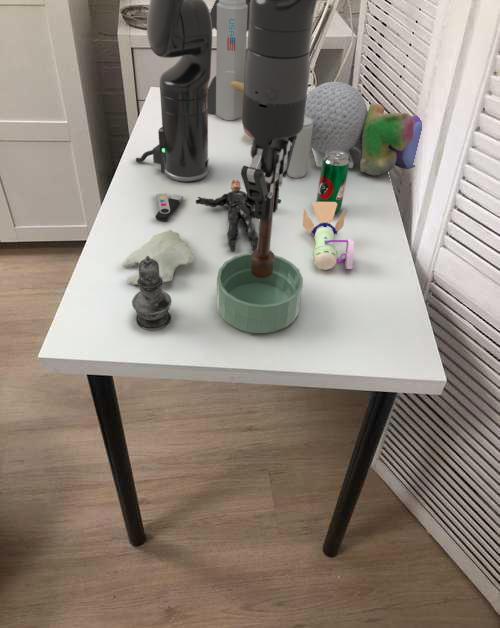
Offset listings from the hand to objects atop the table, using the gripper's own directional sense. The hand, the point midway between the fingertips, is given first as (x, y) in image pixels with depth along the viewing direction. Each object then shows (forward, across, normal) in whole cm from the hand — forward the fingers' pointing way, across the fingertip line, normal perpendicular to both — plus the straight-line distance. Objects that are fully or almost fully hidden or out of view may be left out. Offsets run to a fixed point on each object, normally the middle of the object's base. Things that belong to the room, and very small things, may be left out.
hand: (265, 214), depth 77 cm
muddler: (+10, 0, 0) cm, 10 cm away
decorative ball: (+10, -50, 0) cm, 51 cm away
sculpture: (+11, -54, +2) cm, 55 cm away
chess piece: (+18, +10, -13) cm, 24 cm away
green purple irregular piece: (+12, -60, +13) cm, 62 cm away
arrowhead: (+18, -3, -20) cm, 26 cm away
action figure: (+18, -21, -13) cm, 30 cm away
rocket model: (+17, -64, -36) cm, 76 cm away
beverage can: (+18, -44, -10) cm, 48 cm away
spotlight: (+18, -19, +5) cm, 26 cm away
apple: (+17, -55, -24) cm, 62 cm away
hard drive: (+17, -56, -6) cm, 59 cm away
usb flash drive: (+17, -18, -28) cm, 38 cm away
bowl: (+17, 0, 0) cm, 17 cm away
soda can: (+18, -33, +1) cm, 37 cm away
